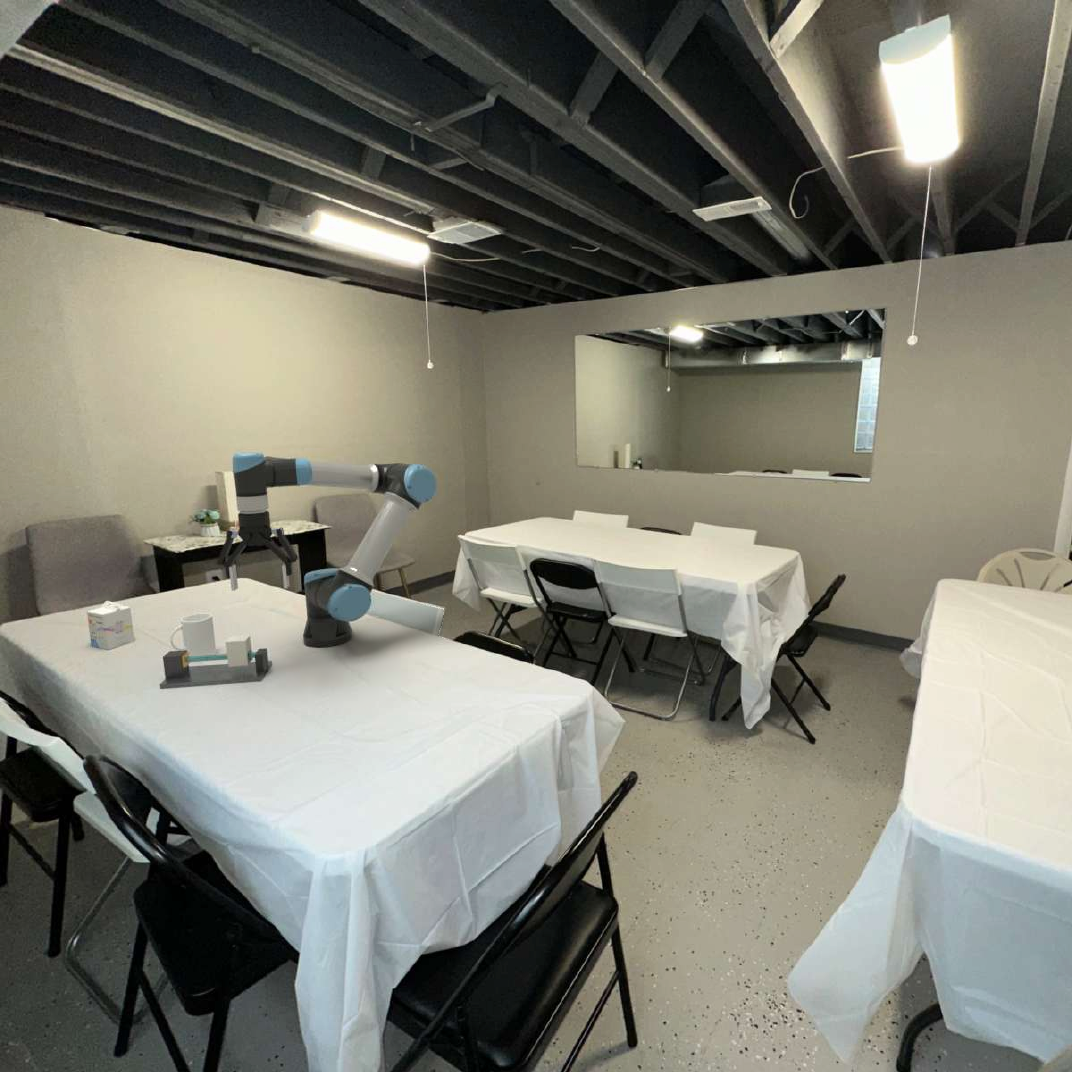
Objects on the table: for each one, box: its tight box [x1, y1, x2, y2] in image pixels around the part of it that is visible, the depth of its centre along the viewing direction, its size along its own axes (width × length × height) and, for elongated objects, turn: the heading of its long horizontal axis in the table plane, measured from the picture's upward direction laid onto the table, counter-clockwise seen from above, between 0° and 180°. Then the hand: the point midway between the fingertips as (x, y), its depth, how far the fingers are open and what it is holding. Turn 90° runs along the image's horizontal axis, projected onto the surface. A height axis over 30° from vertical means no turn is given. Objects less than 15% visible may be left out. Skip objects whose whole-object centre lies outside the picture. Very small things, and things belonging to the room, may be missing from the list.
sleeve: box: [225, 634, 254, 667], centre depth 157 cm, size 5×4×7 cm
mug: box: [169, 612, 218, 656], centre depth 170 cm, size 12×8×12 cm
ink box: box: [86, 600, 136, 651], centre depth 180 cm, size 9×8×13 cm
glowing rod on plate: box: [159, 647, 273, 689], centre depth 157 cm, size 25×11×7 cm, turn 100°
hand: (261, 588), depth 155 cm, fingers open, 13 cm apart
